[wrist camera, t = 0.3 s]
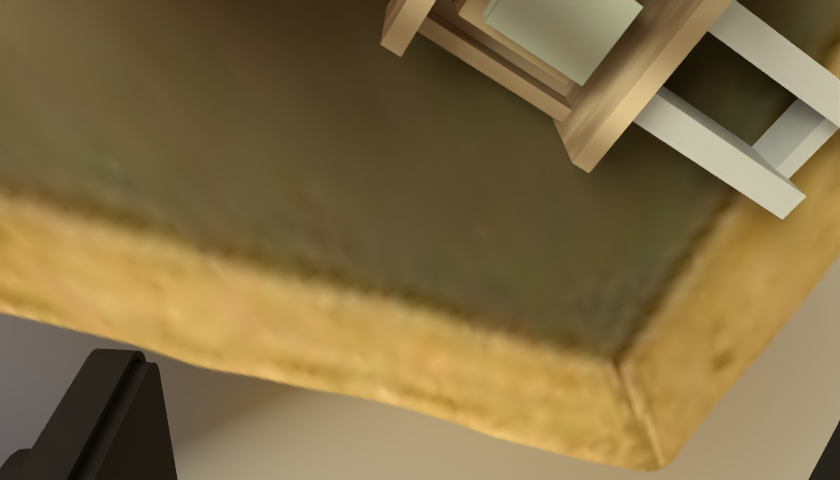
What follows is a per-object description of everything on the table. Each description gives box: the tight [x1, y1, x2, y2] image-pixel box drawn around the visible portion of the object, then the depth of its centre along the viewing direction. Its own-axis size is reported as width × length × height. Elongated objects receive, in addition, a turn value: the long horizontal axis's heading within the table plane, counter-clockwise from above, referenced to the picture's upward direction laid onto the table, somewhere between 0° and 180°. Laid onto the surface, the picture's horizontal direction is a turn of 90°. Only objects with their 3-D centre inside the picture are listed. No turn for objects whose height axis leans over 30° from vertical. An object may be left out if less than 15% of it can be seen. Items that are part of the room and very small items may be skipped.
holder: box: [633, 0, 840, 220], centre depth 35 cm, size 7×10×5 cm, turn 58°
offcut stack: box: [452, 0, 643, 86], centre depth 31 cm, size 5×7×6 cm
